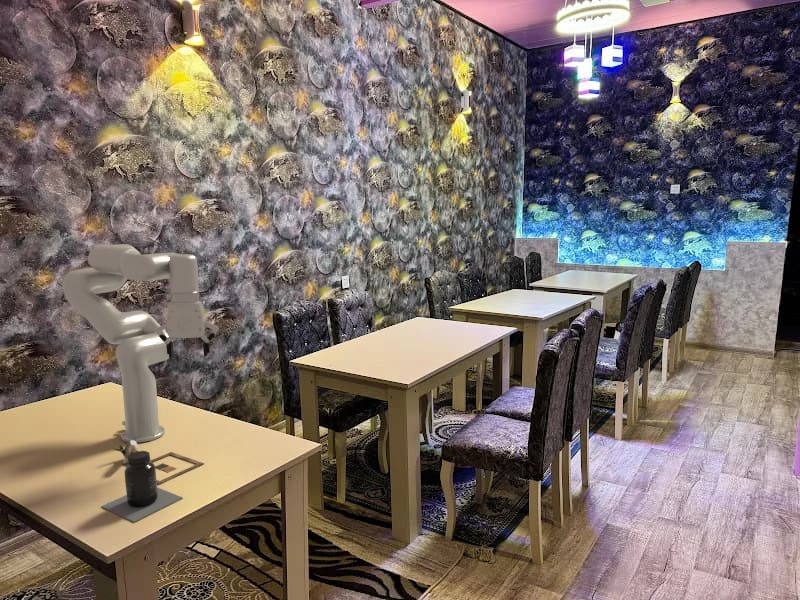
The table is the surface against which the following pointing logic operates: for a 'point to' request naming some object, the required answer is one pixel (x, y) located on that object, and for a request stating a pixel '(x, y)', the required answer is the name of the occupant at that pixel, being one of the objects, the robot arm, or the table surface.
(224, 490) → the table surface
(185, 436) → the table surface
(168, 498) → the mat
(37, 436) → the table surface
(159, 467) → the frame
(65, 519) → the table surface
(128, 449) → the eagle figurine
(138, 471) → the supplement bottle
